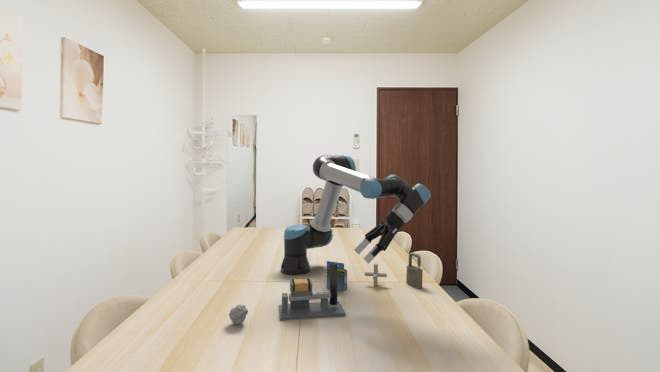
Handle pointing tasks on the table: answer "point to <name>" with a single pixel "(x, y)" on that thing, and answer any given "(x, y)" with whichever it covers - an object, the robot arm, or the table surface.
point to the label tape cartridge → (341, 276)
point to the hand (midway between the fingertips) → (360, 256)
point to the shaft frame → (307, 306)
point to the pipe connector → (375, 274)
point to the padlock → (414, 272)
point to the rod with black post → (324, 295)
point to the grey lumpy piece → (238, 314)
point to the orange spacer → (300, 285)
